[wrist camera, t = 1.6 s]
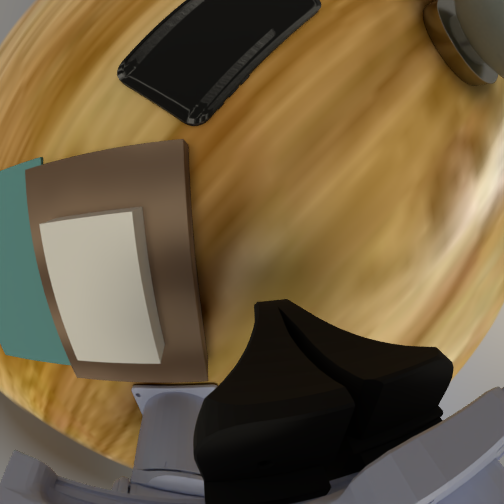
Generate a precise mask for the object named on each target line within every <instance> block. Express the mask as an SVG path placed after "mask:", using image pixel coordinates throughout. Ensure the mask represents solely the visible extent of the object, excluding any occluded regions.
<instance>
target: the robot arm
mask: <svg viewBox="0 0 504 504" xmlns="http://www.w3.org/2000/svg"><path fill="white" fill-rule="evenodd" d="M254 312H255V323H254V328H253V331H252V334H251V337H250V340H249V342H248V345H247V347H246V349H245V351H244V353H243V355H242V356H241V358H240V360H239V361H238V363H237V364H236V366H235V367H234V369H233V370H232V371H231V372H230V373H229V375H228V376H227V377H226V378H225V379H224V381H223V382H222V383H221V384H220V385H219V386H217V385H214V384H209V385H185V386H145V385H134V386H133V387H132V393H133V395H134V397H135V400H136V402H137V404H138V406H139V409H140V411H141V413H142V415H143V417H142V422H141V427H140V432H139V438H138V443H137V449H136V455H135V461H134V467H133V471H132V476H131V480H130V482H129V478H126V477H123V476H122V477H121V478H120V479H117V480H115V481H114V483H113V487H112V490H108V489H103V488H99V487H95V486H91V485H87V484H83V483H80V482H76V481H73V480H70V479H67V478H64V477H61V476H58V475H56V473H55V472H54V471H53V470H52V469H51V468H50V467H49V466H48V465H46V464H45V463H44V462H42V461H40V460H38V459H36V458H34V457H31V456H29V455H26V454H24V453H22V452H20V451H17V450H14V451H13V453H12V456H11V458H10V460H9V463H8V465H7V467H6V470H5V472H4V475H3V477H2V480H1V483H0V504H504V467H503V466H502V465H501V463H500V462H499V461H498V460H499V459H500V458H501V457H502V456H503V455H504V387H503V388H502V389H501V388H500V387H495V388H493V389H491V390H489V391H487V392H485V393H484V394H482V395H481V396H480V397H478V398H477V399H475V400H474V401H473V402H471V403H470V404H468V405H467V406H465V407H464V408H462V409H461V410H459V411H458V412H456V413H455V414H453V415H452V416H450V417H448V418H447V419H445V420H442V419H441V418H440V417H441V416H442V415H443V411H442V409H441V408H440V407H439V406H438V405H439V403H440V401H441V399H442V397H443V395H444V394H445V392H446V390H447V388H448V386H449V384H450V381H451V379H452V375H453V364H452V362H451V361H450V360H449V359H448V358H447V357H446V356H445V355H444V354H443V353H442V352H441V351H440V350H439V349H437V348H436V347H417V346H404V345H397V344H390V343H385V342H380V341H376V340H372V339H368V338H364V337H361V336H358V335H355V334H352V333H350V332H347V331H344V330H342V329H340V328H337V327H335V326H333V325H331V324H329V323H327V322H325V321H323V320H321V319H319V318H318V317H316V316H314V315H312V314H311V313H309V312H307V311H306V310H304V309H303V308H301V307H299V306H298V305H296V304H294V303H293V302H291V301H289V300H287V299H283V300H274V301H264V302H257V303H256V304H255V305H254ZM138 393H139V394H138Z"/></svg>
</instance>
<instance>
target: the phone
mask: <svg viewBox="0 0 504 504" xmlns="http://www.w3.org/2000/svg"><path fill="white" fill-rule="evenodd" d="M320 8H321V2H320V0H186V1H185V2H183V3H182V4H181V5H180V6H178V7H177V8H176V9H175V10H174V11H173V12H171V13H170V14H169V15H168V16H167V17H166V18H165V19H163V20H162V21H161V22H160V23H159V24H158V25H157V26H156V27H155V28H154V29H153V30H152V31H151V32H150V33H149V34H148V35H147V36H146V37H145V38H144V39H143V40H142V41H141V42H140V43H139V44H138V45H137V46H136V47H135V48H134V49H133V50H132V51H131V52H130V53H129V55H128V56H127V57H126V58H125V59H124V60H123V61H122V63H121V64H120V66H119V68H118V71H117V76H118V78H119V80H120V81H121V82H122V83H124V84H125V85H126V86H128V87H129V88H131V89H133V90H134V91H136V92H137V93H139V94H141V95H142V96H144V97H145V98H147V99H149V100H150V101H152V102H153V103H155V104H156V105H158V106H159V107H161V108H162V109H164V110H165V111H167V112H168V113H170V114H172V115H173V116H174V117H176V118H177V119H179V120H180V121H182V122H183V123H185V124H187V125H190V126H198V125H201V124H203V123H205V122H207V121H208V120H209V119H210V118H211V116H212V115H213V114H214V113H215V112H216V110H217V109H219V108H220V107H221V106H222V105H223V104H224V101H225V100H226V99H227V98H228V97H230V96H231V95H232V94H233V93H234V92H235V91H236V90H237V88H238V87H239V85H240V84H242V83H243V82H244V81H245V80H246V79H247V78H248V77H249V76H250V75H249V74H250V73H251V72H252V71H253V70H254V69H255V68H256V67H257V66H258V65H259V64H260V63H261V62H262V61H263V60H264V59H265V58H266V57H267V56H268V55H269V54H270V53H271V52H272V51H274V50H275V49H276V48H277V47H278V46H279V45H280V44H281V43H282V42H283V41H284V40H285V39H287V38H288V37H289V36H290V35H291V34H292V33H293V32H294V31H296V30H297V29H298V28H299V27H300V26H301V25H303V24H304V23H305V22H306V21H307V20H309V19H310V18H311V17H312V16H314V15H315V14H316V13H317V12H318V10H319V9H320Z"/></svg>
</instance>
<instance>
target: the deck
mask: <svg viewBox="0 0 504 504" xmlns="http://www.w3.org/2000/svg"><path fill="white" fill-rule="evenodd" d="M25 181H26V195H27V206H28V214H29V222H30V229H31V235H32V241H33V246H34V251H35V256H36V261H37V265H38V270H39V274H40V278H41V282H42V285H43V289H44V293H45V296H46V299H47V303H48V306H49V309H50V312H51V315H52V318H53V321H54V324H55V327H56V329H57V332H58V335H59V337H60V340H61V342H62V345H63V347H64V350H65V352H66V355H67V357H68V359H69V361H70V364H71V366H72V368H73V370H74V372H75V374H76V377H78V378H87V379H97V380H109V381H125V382H202V381H208V355H207V348H206V341H205V334H204V327H203V320H202V312H201V304H200V296H199V287H198V278H197V269H196V258H195V248H194V236H193V224H192V210H191V194H190V176H189V152H188V144H187V143H186V142H185V141H184V139H178V140H168V141H159V142H151V143H144V144H137V145H130V146H124V147H118V148H112V149H107V150H102V151H97V152H92V153H87V154H83V155H78V156H74V157H70V158H65V159H62V160H58V161H54V162H50V163H47V164H43V165H40V166H36V167H33V168H30V169H26V170H25ZM134 207H142V209H143V219H144V229H145V237H146V245H147V253H148V260H149V267H150V273H151V279H152V285H153V291H154V296H155V302H156V307H157V312H158V317H159V322H160V326H161V331H162V335H163V340H164V344H165V346H164V350H163V355H162V359H161V364H137V363H108V362H92V361H80V360H77V358H76V355H75V353H74V350H73V348H72V345H71V343H70V340H69V338H68V335H67V332H66V329H65V327H64V324H63V321H62V318H61V315H60V312H59V309H58V305H57V302H56V299H55V295H54V292H53V288H52V284H51V280H50V276H49V272H48V268H47V264H46V259H45V254H44V249H43V244H42V238H41V232H40V225H39V224H41V223H44V222H47V221H49V220H52V219H55V218H59V217H65V216H72V215H79V214H86V213H93V212H100V211H108V210H116V209H125V208H134Z"/></svg>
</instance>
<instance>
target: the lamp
mask: <svg viewBox="0 0 504 504" xmlns="http://www.w3.org/2000/svg"><path fill="white" fill-rule="evenodd" d="M423 18H424V23H425V26H426V29H427V31H428V34H429V36H430V38H431V40H432V42H433V44H434V46H435V47H436V49H437V51H438V52H439V54H440V55H441V57H442V58H443V59H444V61H445V62H446V64H447V65H448V66H449V67H450V68H451V70H452V71H453V72H454V73H455V74H456V75H457V76H458V77H459V78H460V79H462V80H463V81H464V82H466V83H468V84H469V85H472V86H479V85H485V84H492V83H494V82H495V81H496V80H497V77H498V75H500V76H501V77H503V78H504V0H435V1H433V2H431V3H430V4H428V5H426V6H425V8H424V10H423Z"/></svg>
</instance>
